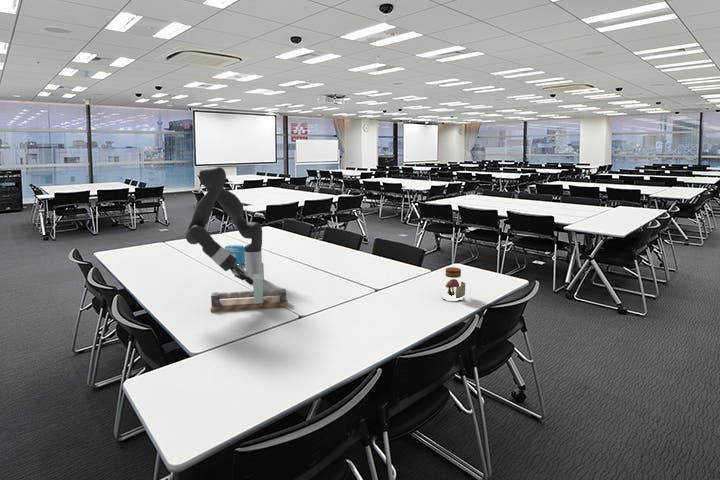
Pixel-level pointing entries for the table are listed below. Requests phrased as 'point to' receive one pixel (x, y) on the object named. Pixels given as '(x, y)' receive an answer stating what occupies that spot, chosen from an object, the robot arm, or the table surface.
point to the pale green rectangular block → (258, 288)
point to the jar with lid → (455, 282)
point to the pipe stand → (247, 300)
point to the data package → (237, 252)
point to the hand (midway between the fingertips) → (252, 283)
